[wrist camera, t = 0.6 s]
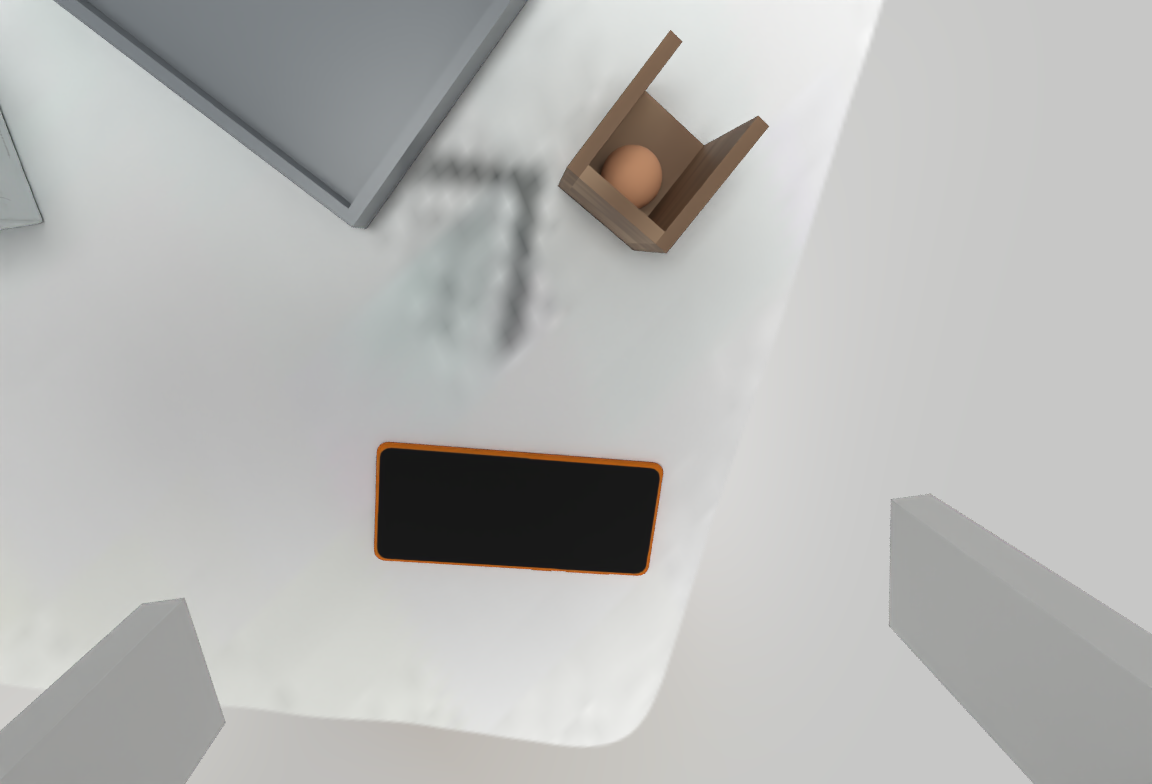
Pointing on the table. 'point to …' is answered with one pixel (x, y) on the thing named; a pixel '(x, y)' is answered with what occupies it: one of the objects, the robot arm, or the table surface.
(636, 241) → the brown wooden bin
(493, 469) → the smartphone
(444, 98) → the tray
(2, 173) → the small box
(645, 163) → the ball
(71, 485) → the table surface
